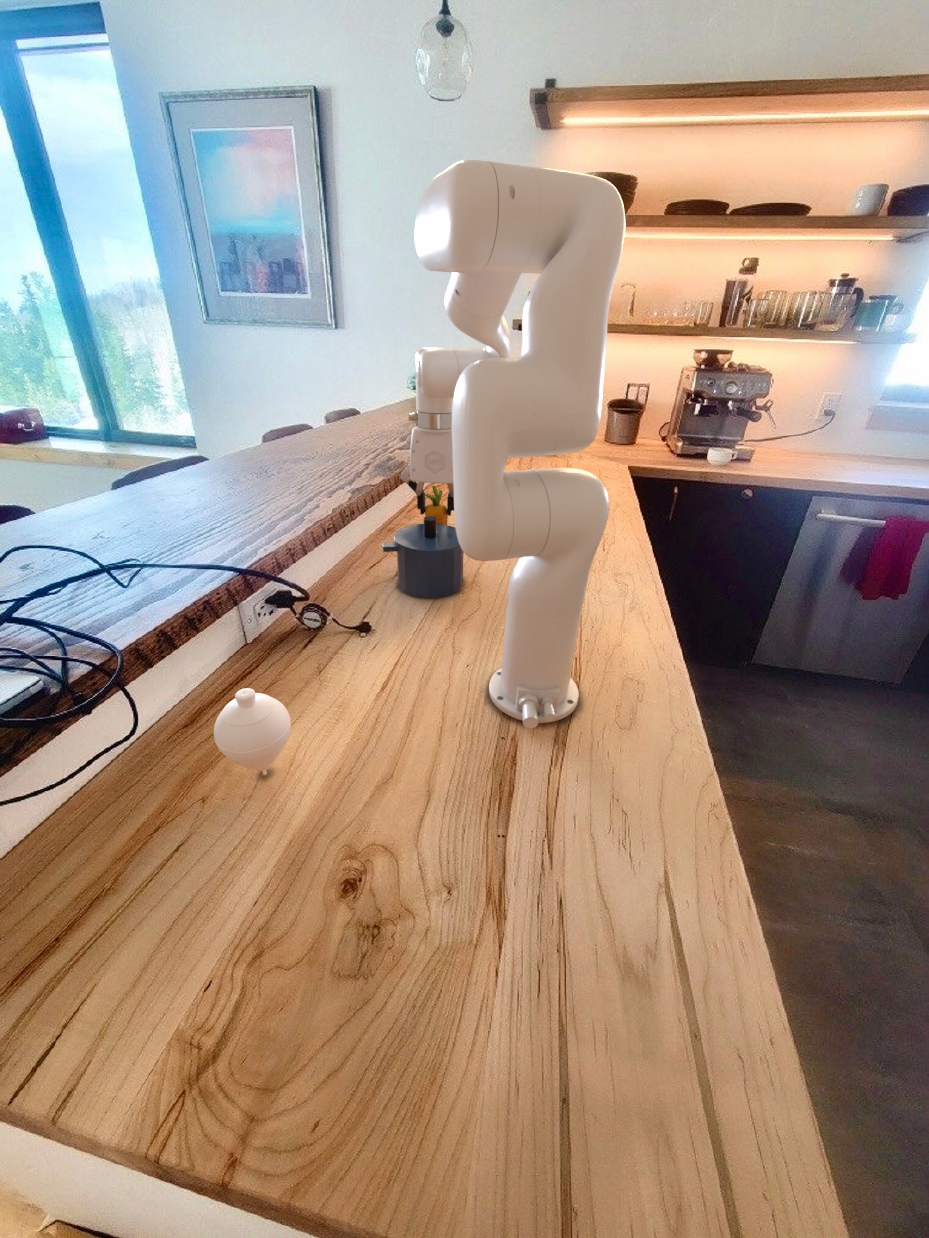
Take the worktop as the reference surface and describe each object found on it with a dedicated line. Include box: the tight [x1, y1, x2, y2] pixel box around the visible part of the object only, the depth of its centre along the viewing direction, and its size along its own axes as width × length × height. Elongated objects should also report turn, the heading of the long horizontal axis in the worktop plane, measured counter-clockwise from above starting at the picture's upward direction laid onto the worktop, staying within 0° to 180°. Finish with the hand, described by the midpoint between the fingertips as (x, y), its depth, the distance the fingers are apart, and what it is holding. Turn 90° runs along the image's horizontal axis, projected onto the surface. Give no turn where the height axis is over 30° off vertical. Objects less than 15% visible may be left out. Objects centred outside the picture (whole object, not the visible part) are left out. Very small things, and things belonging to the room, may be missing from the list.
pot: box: [381, 541, 465, 599], centre depth 98 cm, size 13×18×10 cm
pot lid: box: [393, 516, 460, 553], centre depth 94 cm, size 14×14×5 cm
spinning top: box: [213, 687, 292, 776], centre depth 55 cm, size 8×8×12 cm
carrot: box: [424, 485, 449, 525], centre depth 106 cm, size 5×5×15 cm
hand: (436, 512), depth 105 cm, fingers closed on carrot, 4 cm apart
